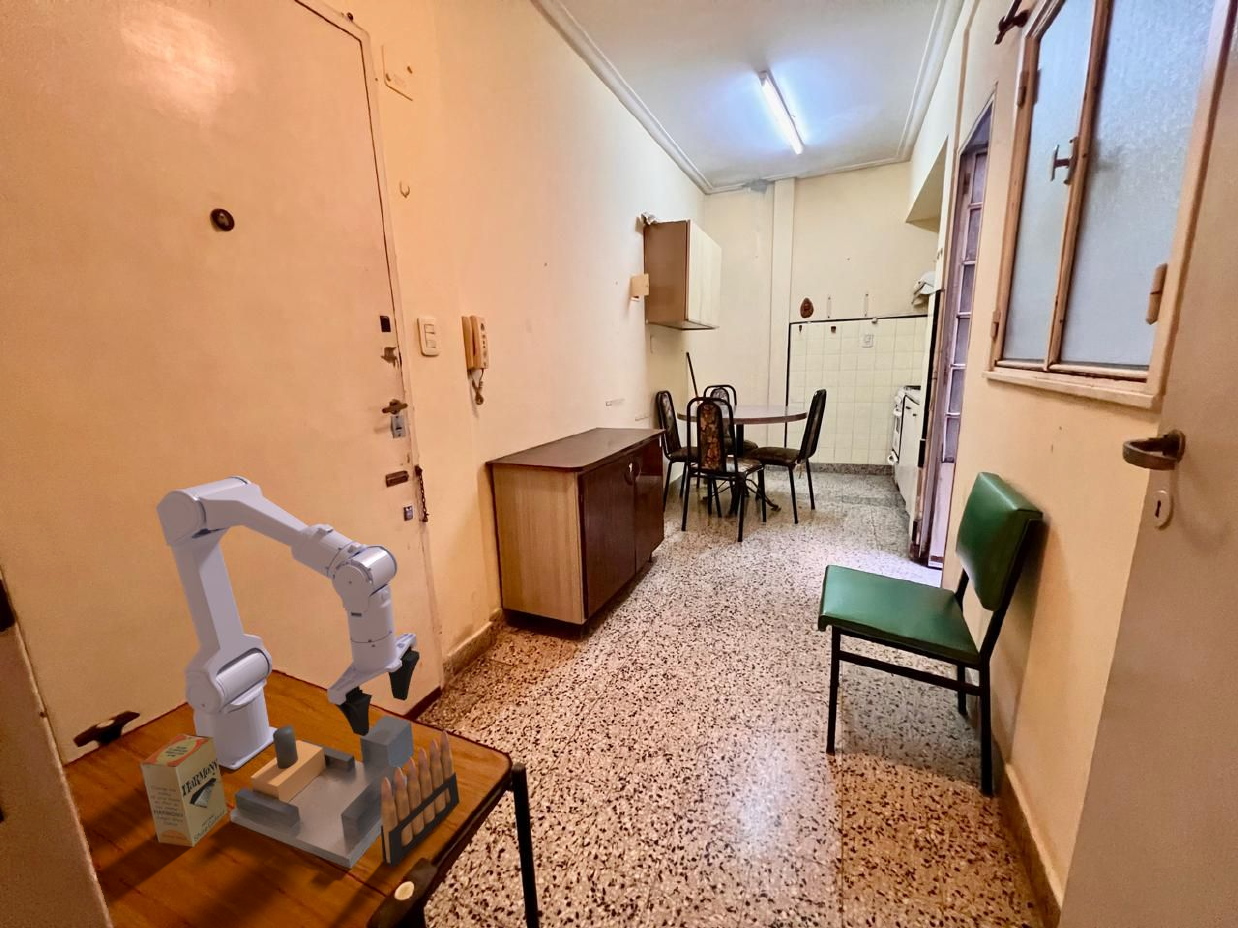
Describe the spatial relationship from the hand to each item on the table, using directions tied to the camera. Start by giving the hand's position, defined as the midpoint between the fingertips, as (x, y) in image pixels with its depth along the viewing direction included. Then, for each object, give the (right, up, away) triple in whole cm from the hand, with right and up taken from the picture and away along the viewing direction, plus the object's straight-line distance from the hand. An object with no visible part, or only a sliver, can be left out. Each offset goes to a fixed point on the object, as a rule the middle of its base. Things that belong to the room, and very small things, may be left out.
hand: (381, 714), depth 72 cm
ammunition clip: (+9, -12, -8) cm, 17 cm away
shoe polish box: (-21, -11, -7) cm, 25 cm away
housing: (0, -9, +3) cm, 10 cm away
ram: (-12, -9, -2) cm, 15 cm away
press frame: (-5, -11, -4) cm, 13 cm away
